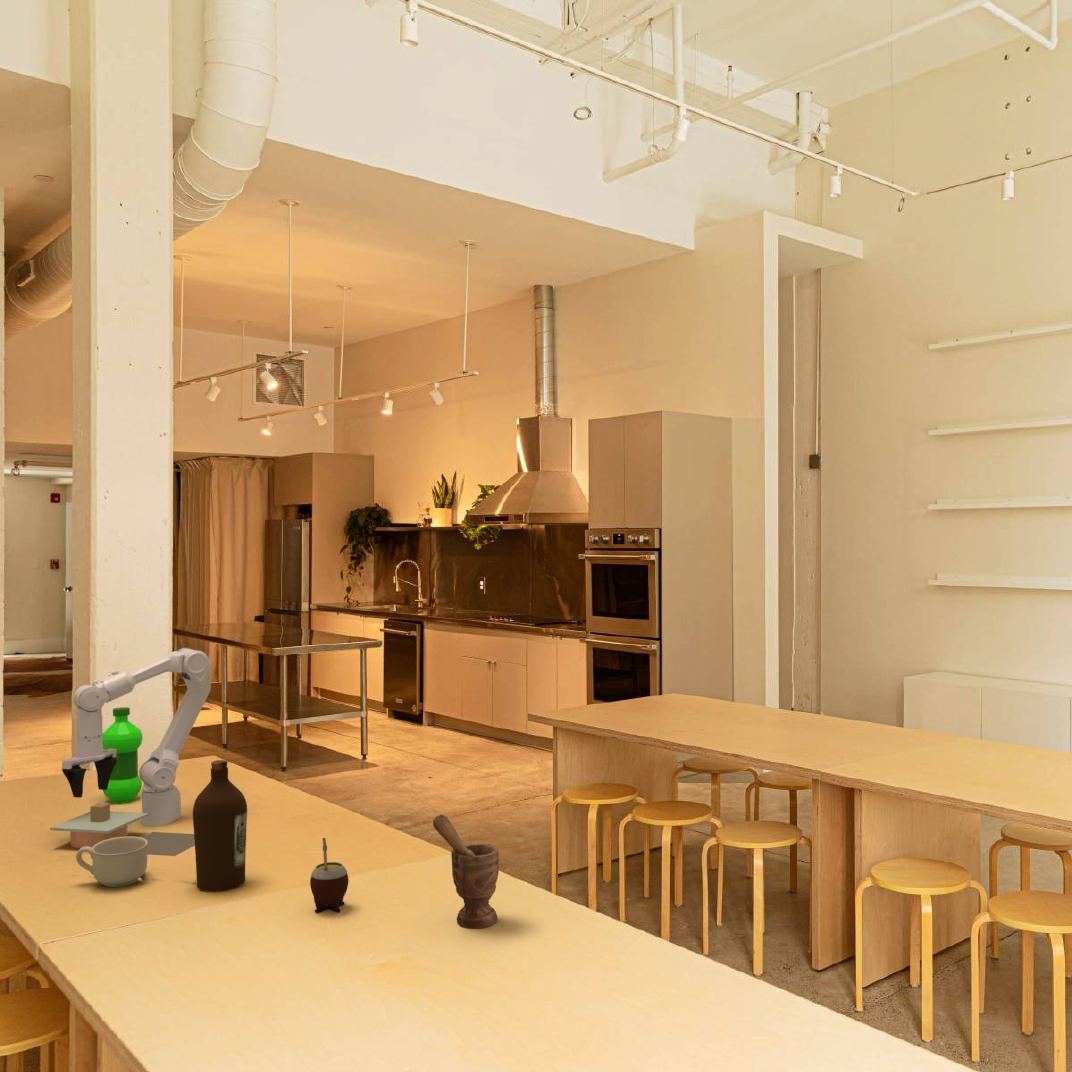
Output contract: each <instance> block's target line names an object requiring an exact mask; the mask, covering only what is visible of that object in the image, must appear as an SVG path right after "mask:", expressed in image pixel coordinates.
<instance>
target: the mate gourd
mask: <svg viewBox="0 0 1072 1072" xmlns="http://www.w3.org/2000/svg"><path fill="white" fill-rule="evenodd" d="M327 851H328V845H327V839H326V837H322V852H323V863H319V864H317V865H316V866H315V867H314V869H312V872H311V875H310V878H309V879H310V880H309V884H310V885H309V886H310V890H311V894H312V896H313V900H314V905H315V908H316V909H315V910H314V912H315V914H319V913H323V912H326V911H332V912H333V913H336V914H339V913H341V911H342V909H340V907H343V906H345V901H344V897H345V895H346V894H347V891H348V888H349V887H348V886H349V874H348V870H347V869H346V867H345V866H344V864H342V863H341V862H335V861H331V862H330V861H329V862H328V855H327V854H328V853H327Z"/></svg>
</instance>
